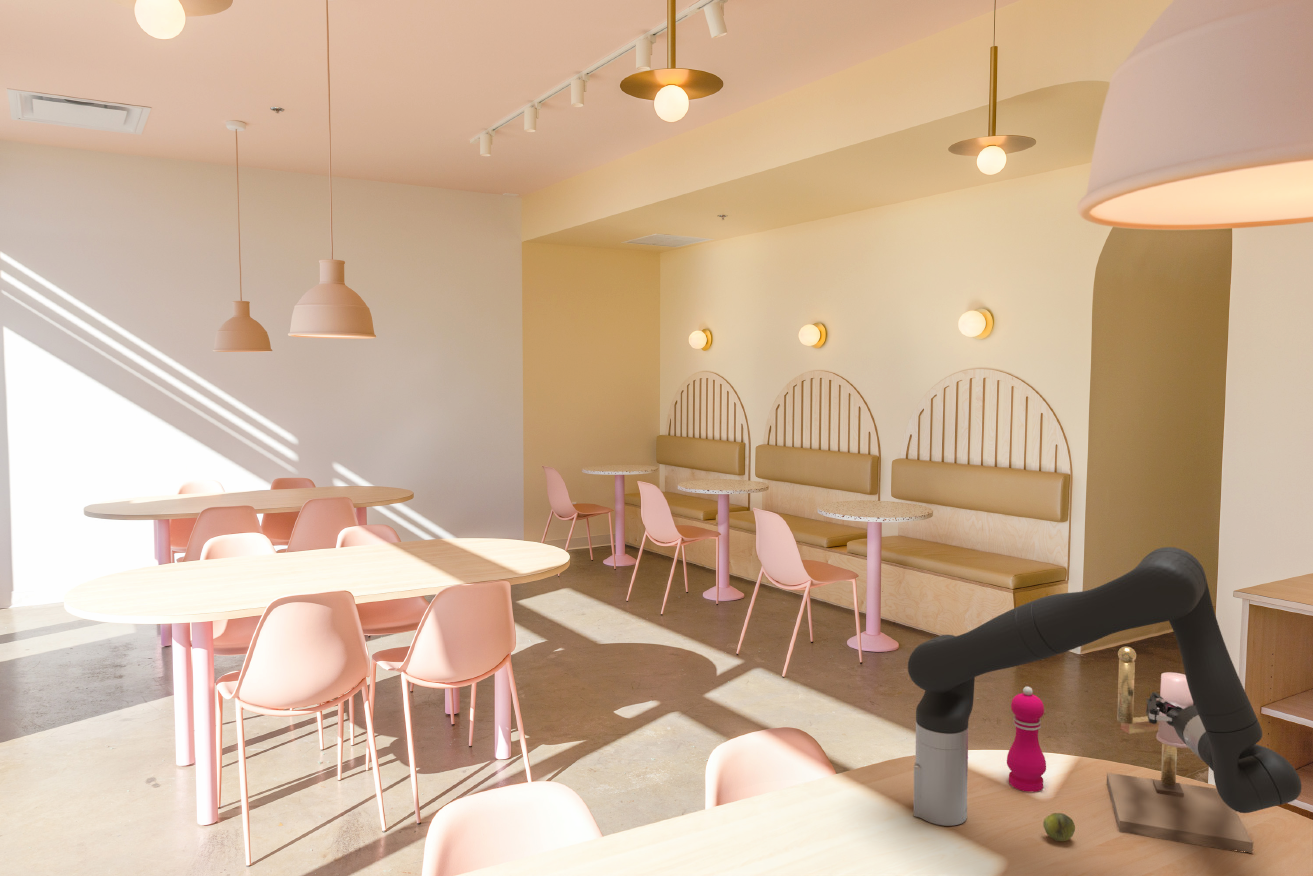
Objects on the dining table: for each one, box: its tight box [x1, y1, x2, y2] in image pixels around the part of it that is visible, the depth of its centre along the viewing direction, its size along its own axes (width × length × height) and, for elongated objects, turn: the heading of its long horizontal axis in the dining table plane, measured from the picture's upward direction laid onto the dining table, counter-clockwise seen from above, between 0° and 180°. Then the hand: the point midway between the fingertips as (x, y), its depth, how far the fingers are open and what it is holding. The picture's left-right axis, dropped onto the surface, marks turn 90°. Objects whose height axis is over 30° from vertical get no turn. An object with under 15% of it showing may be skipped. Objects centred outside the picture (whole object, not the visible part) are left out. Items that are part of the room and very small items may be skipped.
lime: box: [1043, 812, 1076, 842], centre depth 149 cm, size 4×5×5 cm
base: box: [1106, 772, 1254, 854], centre depth 157 cm, size 20×20×3 cm
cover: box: [1155, 671, 1193, 749], centre depth 156 cm, size 6×6×12 cm
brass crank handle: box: [1116, 646, 1178, 785], centre depth 161 cm, size 16×3×27 cm, turn 102°
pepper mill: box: [1006, 686, 1047, 793], centre depth 168 cm, size 7×7×20 cm
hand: (1171, 698), depth 158 cm, fingers closed on cover, 5 cm apart
